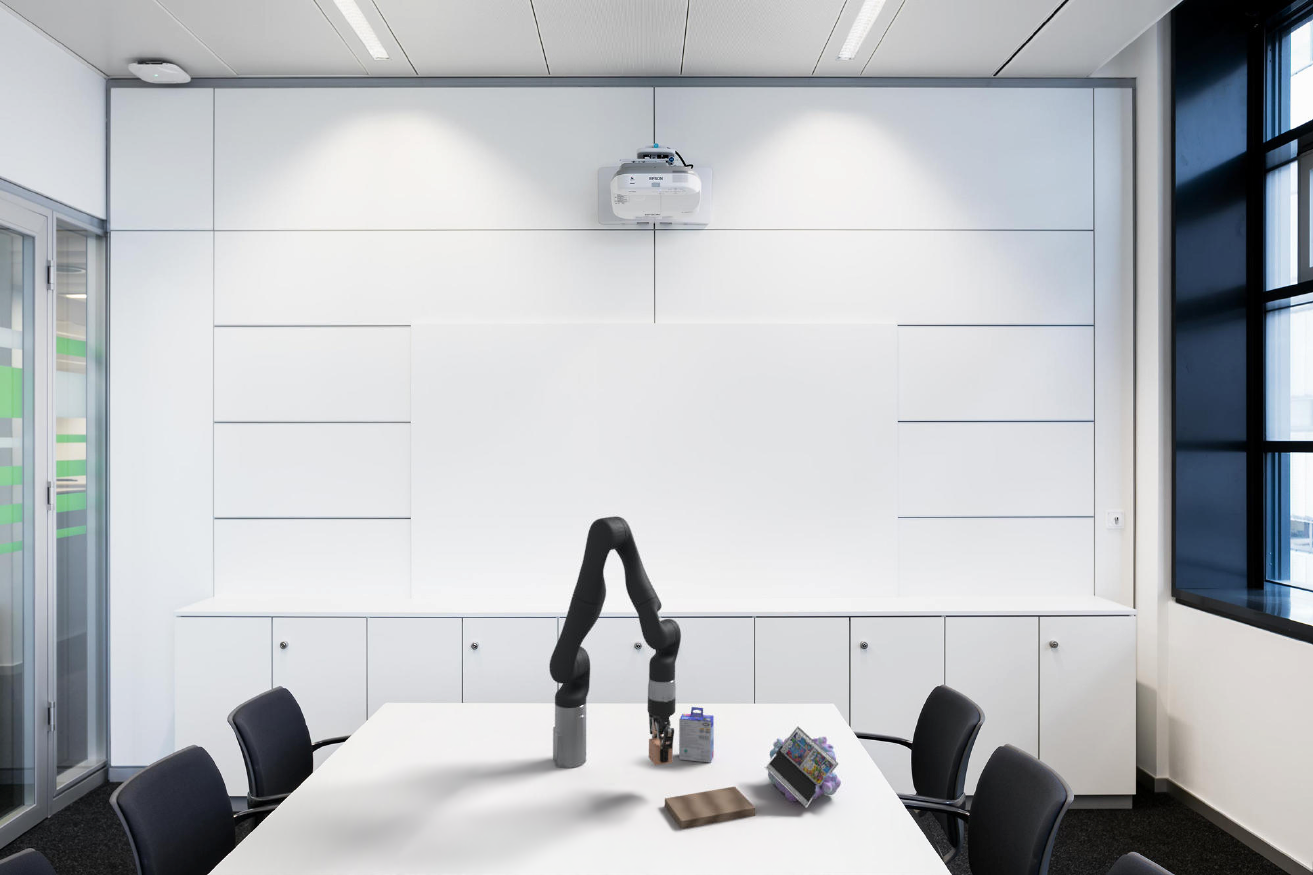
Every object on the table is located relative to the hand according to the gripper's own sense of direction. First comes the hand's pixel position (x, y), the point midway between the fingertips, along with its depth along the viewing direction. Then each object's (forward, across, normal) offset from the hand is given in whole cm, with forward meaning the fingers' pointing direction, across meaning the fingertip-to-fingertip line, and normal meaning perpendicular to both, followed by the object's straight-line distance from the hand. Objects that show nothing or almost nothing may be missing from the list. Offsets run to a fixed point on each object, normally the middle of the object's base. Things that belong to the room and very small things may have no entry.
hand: (660, 757), depth 201 cm
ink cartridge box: (+9, -16, +17) cm, 25 cm away
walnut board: (+9, +14, +8) cm, 19 cm away
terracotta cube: (+1, 0, 0) cm, 1 cm away
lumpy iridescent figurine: (+9, +13, +36) cm, 40 cm away
